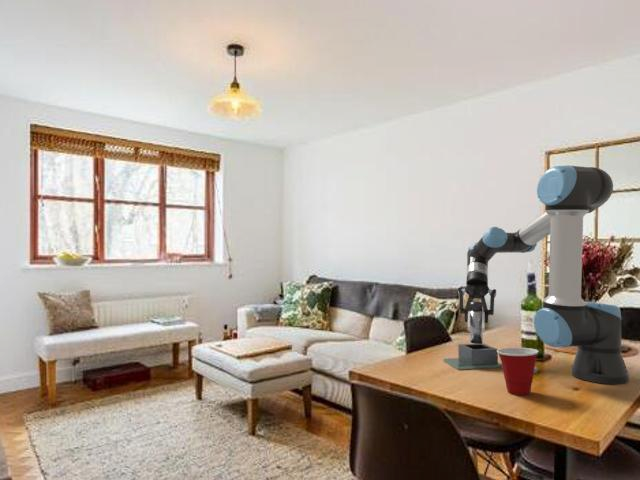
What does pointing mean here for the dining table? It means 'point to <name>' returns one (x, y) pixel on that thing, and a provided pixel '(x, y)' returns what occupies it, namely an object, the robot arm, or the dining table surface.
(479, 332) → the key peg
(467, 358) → the block
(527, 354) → the plastic cup
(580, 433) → the dining table surface
